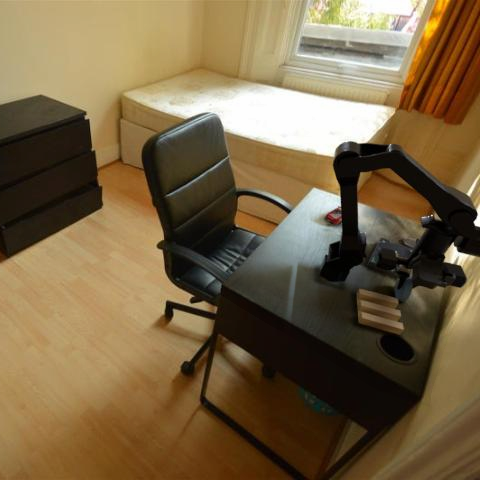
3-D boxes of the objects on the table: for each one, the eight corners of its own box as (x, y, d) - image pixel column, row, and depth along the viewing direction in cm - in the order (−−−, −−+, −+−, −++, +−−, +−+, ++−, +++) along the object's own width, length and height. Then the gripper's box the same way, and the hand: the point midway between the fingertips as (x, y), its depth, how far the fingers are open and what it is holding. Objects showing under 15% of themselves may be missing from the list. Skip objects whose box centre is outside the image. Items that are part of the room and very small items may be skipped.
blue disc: (391, 287, 93) (403, 269, 88) (398, 289, 92) (410, 271, 88) (395, 305, 88) (407, 287, 83) (401, 307, 87) (415, 289, 83)
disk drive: (376, 243, 108) (365, 267, 99) (380, 236, 106) (369, 260, 97) (413, 257, 103) (405, 283, 94) (417, 250, 101) (409, 276, 92)
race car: (343, 209, 123) (347, 200, 121) (357, 216, 119) (361, 207, 117) (320, 219, 118) (324, 210, 115) (334, 227, 114) (338, 218, 111)
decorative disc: (412, 252, 104) (413, 250, 103) (397, 240, 109) (398, 237, 108) (430, 250, 105) (431, 248, 104) (414, 238, 110) (416, 235, 109)
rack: (357, 325, 83) (362, 317, 81) (355, 295, 90) (359, 288, 88) (398, 337, 80) (404, 329, 78) (392, 305, 87) (397, 298, 86)
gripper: (393, 255, 75) (365, 300, 85) (493, 278, 70) (450, 323, 80) (387, 227, 83) (362, 272, 93) (476, 246, 78) (440, 291, 88)
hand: (401, 289), depth 88 cm, fingers closed on blue disc, 2 cm apart
